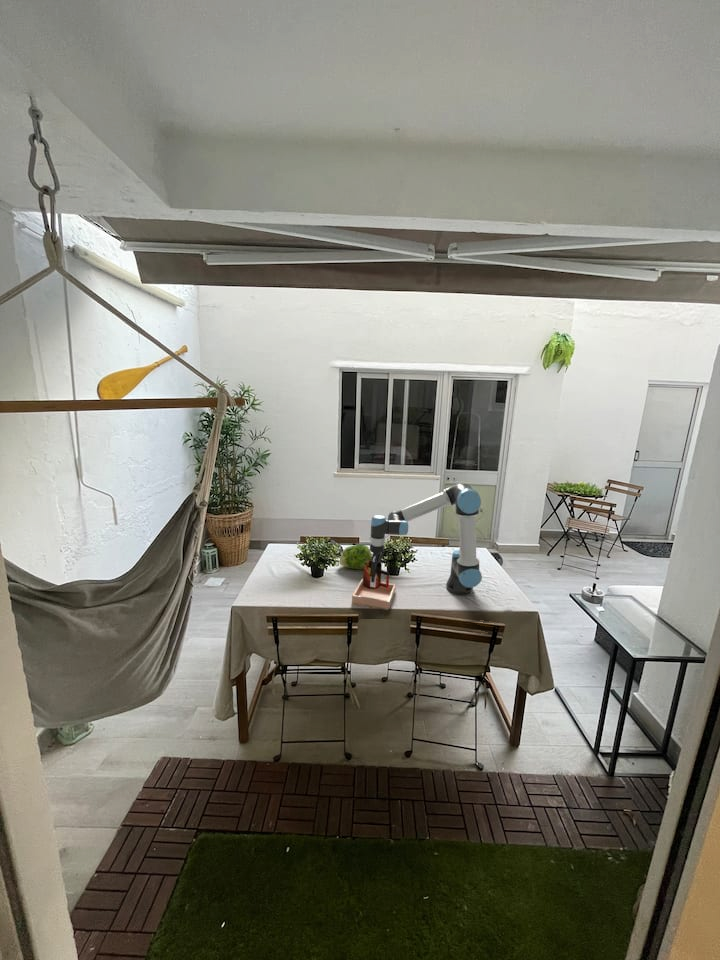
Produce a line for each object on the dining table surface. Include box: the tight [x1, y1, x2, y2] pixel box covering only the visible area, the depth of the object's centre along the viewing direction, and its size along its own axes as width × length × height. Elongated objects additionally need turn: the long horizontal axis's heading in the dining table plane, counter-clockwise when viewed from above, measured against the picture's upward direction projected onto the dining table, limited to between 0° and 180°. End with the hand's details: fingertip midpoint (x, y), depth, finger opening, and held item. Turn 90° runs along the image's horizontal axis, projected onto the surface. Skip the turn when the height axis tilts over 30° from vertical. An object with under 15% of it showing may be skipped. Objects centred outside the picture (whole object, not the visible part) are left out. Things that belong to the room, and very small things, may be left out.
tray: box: [351, 578, 397, 611], centre depth 224 cm, size 20×20×5 cm
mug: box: [362, 561, 390, 589], centre depth 222 cm, size 10×14×12 cm
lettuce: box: [338, 544, 373, 570], centre depth 259 cm, size 16×21×15 cm
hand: (374, 582), depth 222 cm, fingers closed on mug, 10 cm apart
